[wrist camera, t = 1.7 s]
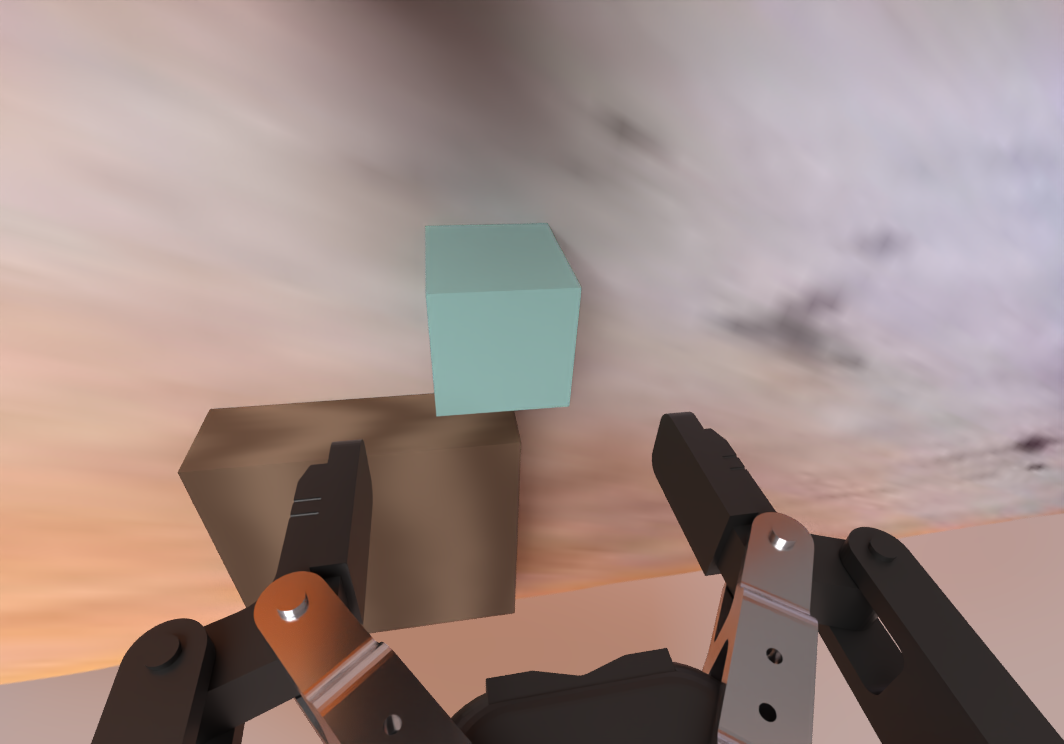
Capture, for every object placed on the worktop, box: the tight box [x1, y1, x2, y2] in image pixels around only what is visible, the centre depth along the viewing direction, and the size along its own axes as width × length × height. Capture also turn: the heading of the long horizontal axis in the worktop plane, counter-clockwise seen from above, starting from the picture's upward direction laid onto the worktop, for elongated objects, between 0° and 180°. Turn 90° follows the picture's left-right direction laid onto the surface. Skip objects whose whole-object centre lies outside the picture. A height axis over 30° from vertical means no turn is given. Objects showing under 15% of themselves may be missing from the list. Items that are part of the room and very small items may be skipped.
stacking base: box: [178, 394, 521, 633], centre depth 28 cm, size 14×14×4 cm
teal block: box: [425, 223, 581, 416], centre depth 21 cm, size 5×5×6 cm
